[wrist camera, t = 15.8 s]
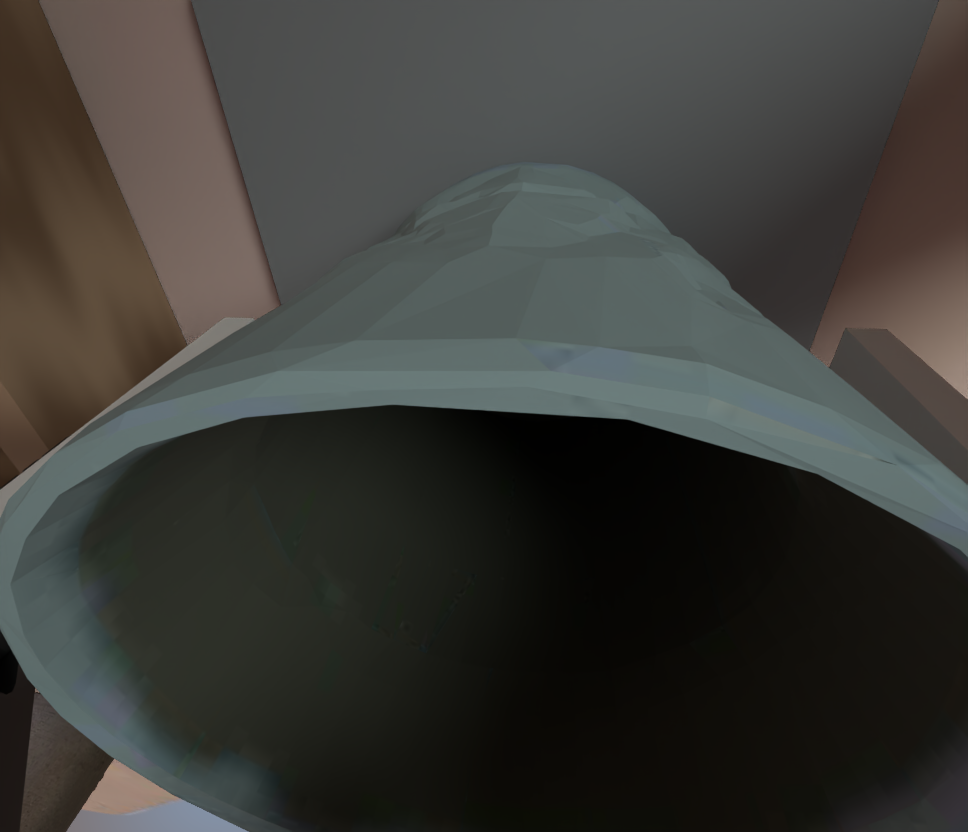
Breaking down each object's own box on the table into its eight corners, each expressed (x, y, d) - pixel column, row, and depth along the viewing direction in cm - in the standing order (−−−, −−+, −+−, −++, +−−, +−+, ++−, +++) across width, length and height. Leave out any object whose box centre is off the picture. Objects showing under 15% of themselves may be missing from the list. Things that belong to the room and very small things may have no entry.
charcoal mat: (200, -18, 12) (184, -21, 11) (950, -80, 10) (971, -87, 9) (341, 480, 21) (336, 490, 21) (743, 505, 19) (747, 517, 19)
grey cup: (311, 318, 16) (-70, 716, 6) (527, 3, 11) (220, -417, 1) (542, 488, 19) (518, 933, 9) (797, 305, 14) (1335, 886, 4)
